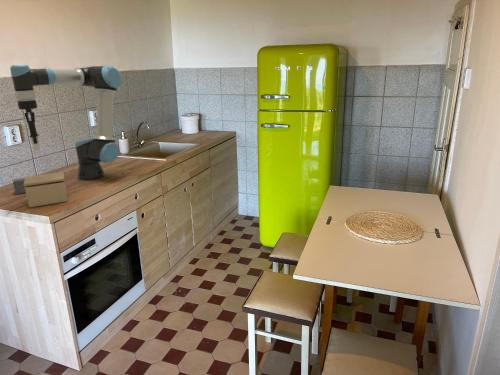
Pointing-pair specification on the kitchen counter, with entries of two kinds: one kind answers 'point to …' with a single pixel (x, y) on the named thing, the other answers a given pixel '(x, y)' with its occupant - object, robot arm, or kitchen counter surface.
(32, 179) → the lid
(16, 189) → the block
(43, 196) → the box
